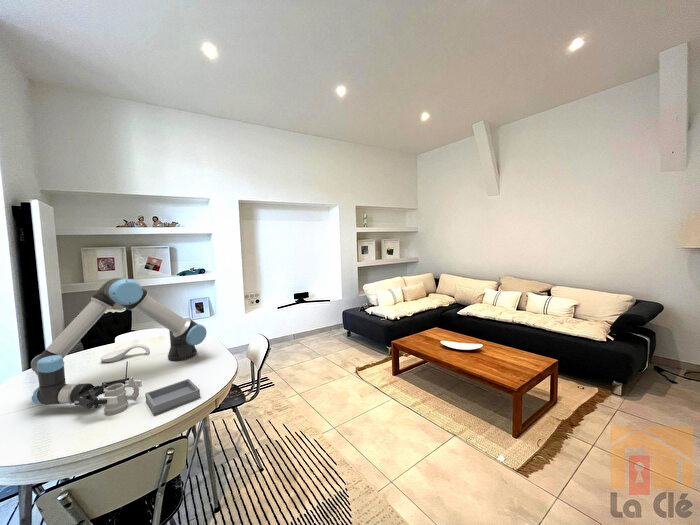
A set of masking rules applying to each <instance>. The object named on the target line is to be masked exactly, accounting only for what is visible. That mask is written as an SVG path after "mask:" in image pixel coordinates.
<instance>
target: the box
mask: <svg viewBox="0 0 700 525" xmlns="http://www.w3.org/2000/svg"><path fill="white" fill-rule="evenodd" d="M144 393H145V394H144V397H145V403H146V405H147V407H148V408H149V410H150V412H151V414H152V415H153V417H155V416H159V415H161V414H164V413H167V412H168V411H171V410H174V409H177V408H179V407H182V406H184V405H187V404H189V403H192V402H194V401H196V400H199V398H200V399H201V390H200V388H199V387H198V386H197V385H196V384H195V383H194V382H193V381H192V380H191V379H190V378H187V379H184V380H181V381H178V382H175V383H172V384H168V385H166V386H163V387H159V388H157V389H156V388H155V389H154V390H150V391H148V392H144Z"/></svg>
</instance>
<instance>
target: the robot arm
mask: <svg viewBox="0 0 700 525" xmlns="http://www.w3.org/2000/svg"><path fill="white" fill-rule="evenodd" d="M116 304H117V305H119V306H121V307H123V308H124V309H126V310H128V311H132V310H134V311H137V312H138V313H139V314H142V315H143V316H145V317H147V318H149V319H150V320H152V321H153V322H155V323H157V324H159V325H161V326H163V327H164V328H165V329H167V330H169V332H168V333H169V343H170V347H169V350H168V354H167V360H168V361H170V362H181V361H187V360H189V358H190V359H191V357H192V358H194V357H196V355H198V354H197V353H198V352H197V348H196V346H197V345H199V344H202V342H204V340H205V338H206V337H207V328H206V327H205V326H204V325H202V324H198V323H197V322H195V321H194V320H192V318H191V317H185V318H184V317H182V316H181V315H179V314H177V313H176V312H174V311H173V310H172V309H170V308H169V307H167V306H165V305H164V304H162V303H160V302H159V301H158V300H156V299H154V298H153V297H151V296H150V295H149V291H148V290H147V289H145V288H144V287H142V285H141V284H140V283H139V282H138V281H136V280H133V279H130V278H129V279H128V278H126V279H125V278H119V277H118V278H112V279H109V280H107V281H106V282H104V283H103V285H100V287H99V289H98V290H97V291H96V292H95V293H94V294H93V295H92V296H91V297H90V302H88V304H87V305H86V306H85V307H84V308H83V309H82V310H81V311H80V312H79V314H78V315H77V316H76V317H75V318H73V320H72V321H71V322H69V324H68V325H67V326H66V327H65V328H64V330H63V331H62V332H61V333H60V334H58V336H57V337H56V338H55V339H54V340H53V341H52V342H51V343H50V344H49V345H48V346H47V347H46V348H45V350H43V352H41V353H40V354H37V355H36V356H35V357H34V358H32V360H31V362H30V368H31V370H32V371H33V373H35V374H36V375H37V379H38V385H39V386H38V387H37V388H36V389H35V390H34V391H33V394H32V396H31V401H32V403H34V404H35V405H38V406H39V405H43V406H49V405H63V404H70V405H72V404H74V406H80V407H82V408H86V409H88V410H90V409H93V407H94V409H97V408H99V405H100V406H101V405H103V406H105V404H117V403H118V400H117V396H115V397H104V396H101V395H103V394H104V390H105V388H107V387H109V386H111V385H114V384H119V383H122V384H124V385H125V384H128V383H129V380H130V377H126V378H121V379H116V380H112V381H111V380H109V381H104V382H101V384H100V385H93V384H92V383H67V382H66V374H65V373H66V372H65V361H64V358H65V357H66V356H67V355H68V353H69V352H70V351H71V350H72V349H73V348H74V347H75V346H76V345H77V344H78V343H79V342H80V340H81V339H82V338H83V337H84V336H85V335H86V334H87V333H88V331H90V329H91V328H92V327H94V325H95V324H96V323H97V322H98V320H100V318H101V317H102V316H103V315H104V314H105V312H107V310H109V309H112V308H114V307H115V305H116ZM193 356H194V357H193ZM134 381H135V383H136V384H137V386H138V388H140V387H141V388H142V387H143V385H142V382H143V381H142V379H134ZM127 388H132V387H131V386H128V387H127ZM104 395H105V394H104ZM99 396H100V397H99Z"/></svg>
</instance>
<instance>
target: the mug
mask: <svg viewBox="0 0 700 525" xmlns="http://www.w3.org/2000/svg"><path fill="white" fill-rule="evenodd" d="M134 380H135V379H134V376H131V377H129V383H128V384H125V385H124V384H122V383H119V384H114V385H111V386H109V387H107V388H105V389H104V395H103V397H115V396H117V400H118V403H117V404H105V405H104V407H103V411H104V413H105V415H107V416H113V415H117V414H119V413H122V412H123V411H125V410H126V409H128V405H129V400H131V401H134V402H136V401H137V399H138V398H139V395H140V393H139V392H140V387H138V386H137V384H136V383H135V381H134ZM128 386H131V387H130V388H132V389H133V393H132V394H131V395H127V389H126V388H129V387H128Z"/></svg>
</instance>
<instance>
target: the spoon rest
mask: <svg viewBox="0 0 700 525" xmlns="http://www.w3.org/2000/svg"><path fill="white" fill-rule="evenodd" d="M136 348H140V349H143V350H145V352H146V355H147V356H149V355H150V354H151V350H150V348H149V347H148V346H146V345H144V344H139V343H137V344H133V345H131V346H128V347H126V348H122V349H119V350H115V351H112V352H108V353H106V354H104V355H102V356H101V357H100V358H99V359H100V361H102V362H104V363H115V362H118V361H120V360H122V359H123V358H124V357H125V356H126V355H127V354H128V353H129V352H130V351H131V350H133V349H136Z"/></svg>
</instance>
